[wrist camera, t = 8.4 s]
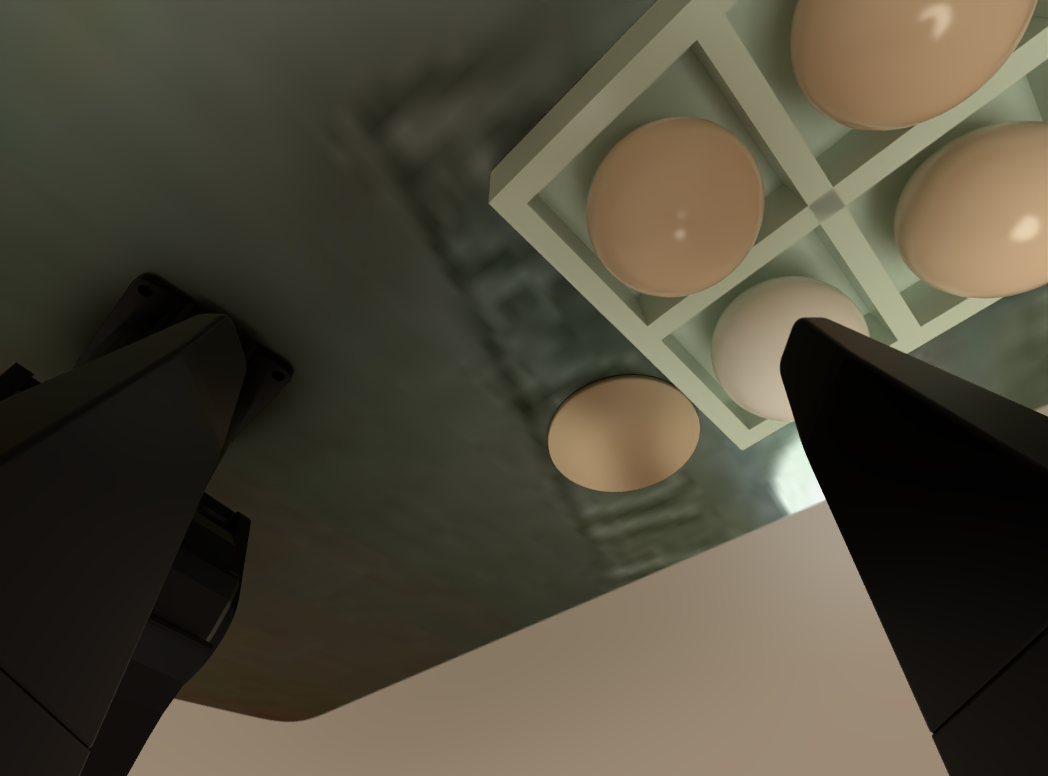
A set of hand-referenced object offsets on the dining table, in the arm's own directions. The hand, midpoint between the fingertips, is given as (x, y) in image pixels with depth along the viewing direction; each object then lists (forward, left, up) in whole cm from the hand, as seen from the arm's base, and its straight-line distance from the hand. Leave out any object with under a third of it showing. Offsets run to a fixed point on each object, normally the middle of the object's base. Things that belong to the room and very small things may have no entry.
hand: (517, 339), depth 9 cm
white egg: (+3, -11, -11) cm, 16 cm away
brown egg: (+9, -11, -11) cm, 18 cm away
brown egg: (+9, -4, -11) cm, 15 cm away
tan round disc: (-5, -13, -12) cm, 18 cm away
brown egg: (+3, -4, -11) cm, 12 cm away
